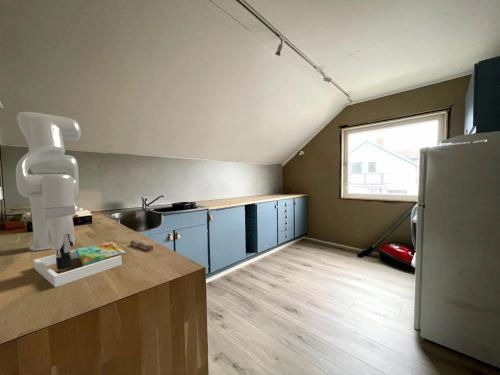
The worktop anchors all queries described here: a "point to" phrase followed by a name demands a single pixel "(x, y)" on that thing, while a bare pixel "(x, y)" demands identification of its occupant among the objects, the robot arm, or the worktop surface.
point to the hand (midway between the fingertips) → (64, 268)
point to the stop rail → (141, 245)
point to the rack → (75, 274)
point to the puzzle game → (99, 253)
